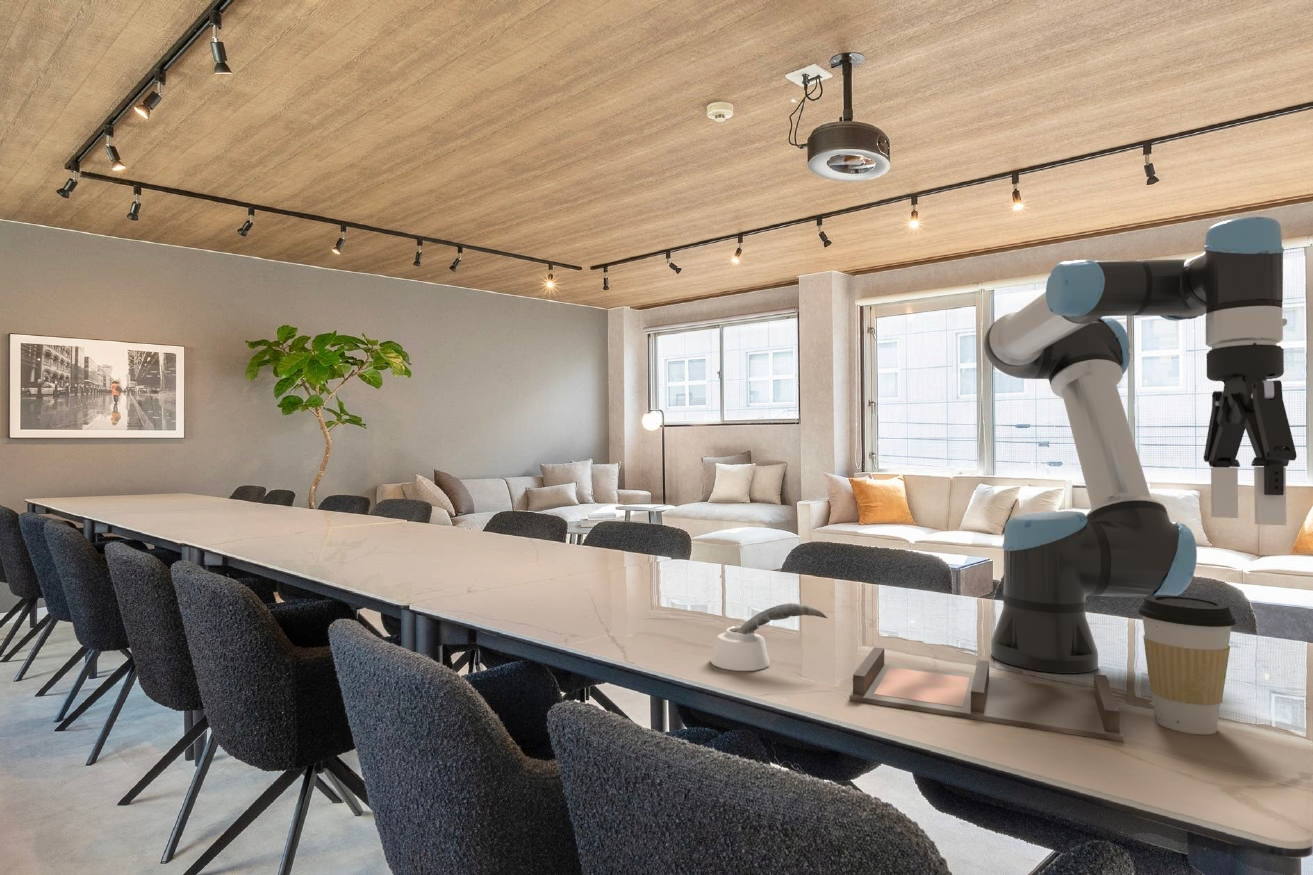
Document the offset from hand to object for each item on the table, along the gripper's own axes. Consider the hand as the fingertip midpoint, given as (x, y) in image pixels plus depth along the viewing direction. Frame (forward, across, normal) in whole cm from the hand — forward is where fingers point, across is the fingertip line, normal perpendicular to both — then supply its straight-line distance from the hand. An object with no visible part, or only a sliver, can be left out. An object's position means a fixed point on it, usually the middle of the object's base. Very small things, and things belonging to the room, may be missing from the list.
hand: (1245, 521), depth 94 cm
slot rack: (+25, +1, +30) cm, 39 cm away
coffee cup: (+25, -1, +7) cm, 26 cm away
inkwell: (+25, +5, +59) cm, 64 cm away
